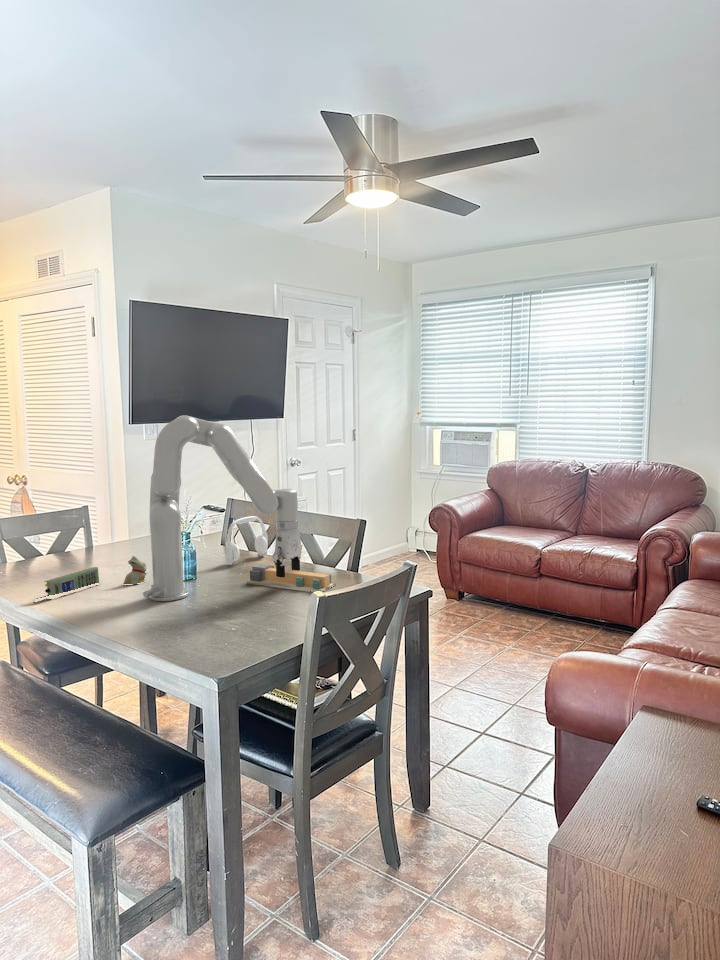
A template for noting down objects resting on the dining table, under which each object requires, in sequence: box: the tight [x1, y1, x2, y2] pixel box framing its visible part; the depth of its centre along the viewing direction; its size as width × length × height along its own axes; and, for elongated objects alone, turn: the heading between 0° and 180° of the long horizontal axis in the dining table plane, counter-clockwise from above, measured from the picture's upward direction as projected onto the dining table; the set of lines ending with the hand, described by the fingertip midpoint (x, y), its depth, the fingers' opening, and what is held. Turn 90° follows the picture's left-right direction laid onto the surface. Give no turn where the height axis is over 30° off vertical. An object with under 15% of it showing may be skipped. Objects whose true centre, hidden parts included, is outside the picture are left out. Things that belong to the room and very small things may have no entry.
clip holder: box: [246, 565, 337, 593], centre depth 229 cm, size 10×30×4 cm, turn 64°
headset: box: [224, 515, 269, 566], centre depth 263 cm, size 20×7×18 cm, turn 141°
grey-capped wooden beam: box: [251, 563, 330, 588], centre depth 228 cm, size 4×29×4 cm, turn 64°
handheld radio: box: [36, 566, 100, 599], centre depth 221 cm, size 7×3×25 cm
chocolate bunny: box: [123, 555, 147, 584], centre depth 233 cm, size 6×8×10 cm
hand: (288, 573), depth 229 cm, fingers open, 9 cm apart
